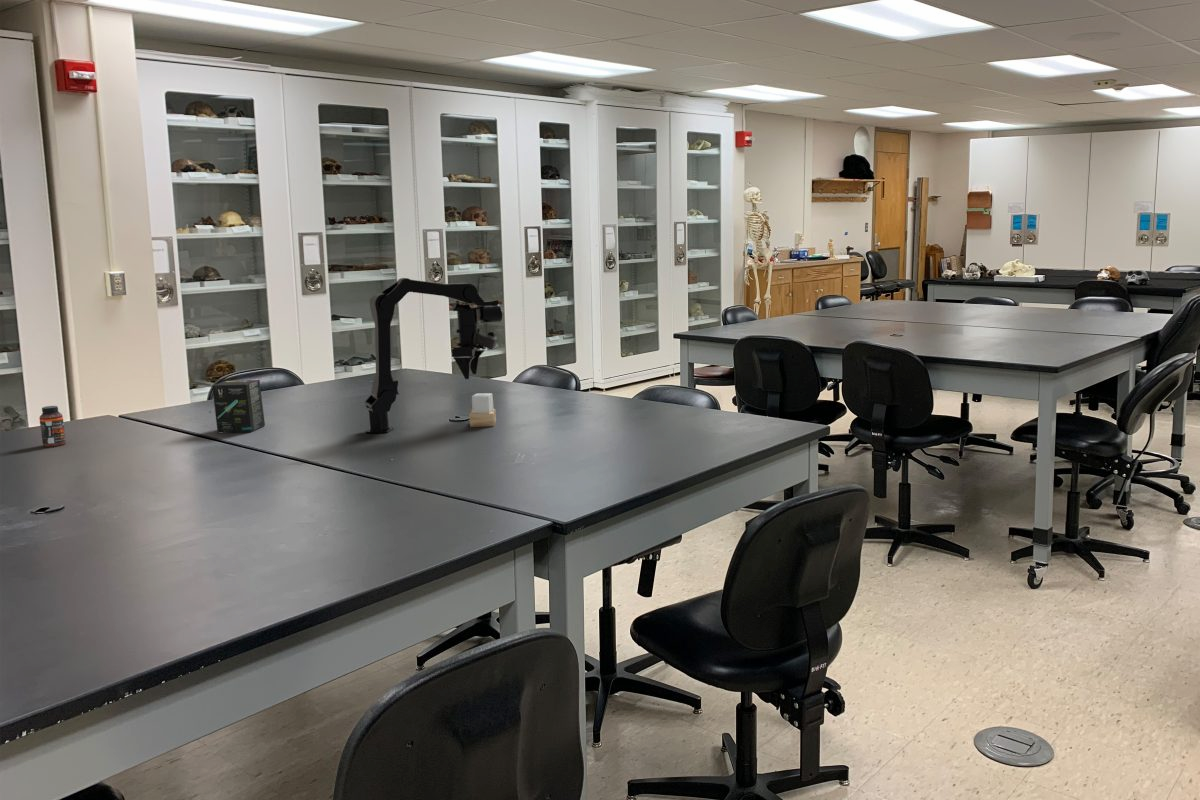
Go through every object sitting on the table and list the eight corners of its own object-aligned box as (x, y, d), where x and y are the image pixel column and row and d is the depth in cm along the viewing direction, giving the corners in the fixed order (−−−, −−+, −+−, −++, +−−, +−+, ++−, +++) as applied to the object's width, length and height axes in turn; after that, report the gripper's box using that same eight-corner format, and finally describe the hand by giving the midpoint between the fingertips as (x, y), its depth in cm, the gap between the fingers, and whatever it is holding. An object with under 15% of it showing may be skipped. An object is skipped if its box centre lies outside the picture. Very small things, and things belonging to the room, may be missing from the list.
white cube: (489, 413, 283) (488, 396, 282) (472, 413, 284) (471, 396, 283) (493, 409, 288) (492, 393, 287) (477, 409, 289) (476, 393, 288)
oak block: (494, 426, 283) (493, 413, 283) (470, 427, 283) (469, 414, 283) (496, 421, 290) (495, 408, 290) (472, 422, 290) (471, 409, 289)
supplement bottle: (56, 447, 277) (50, 408, 275) (38, 447, 278) (32, 408, 276) (71, 442, 283) (65, 404, 281) (53, 442, 284) (48, 404, 282)
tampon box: (265, 426, 296) (260, 378, 294) (252, 432, 287) (246, 384, 285) (231, 426, 298) (226, 379, 295) (216, 433, 289) (211, 384, 286)
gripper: (486, 327, 280) (490, 381, 283) (500, 321, 298) (503, 371, 301) (449, 328, 281) (452, 381, 284) (465, 322, 299) (468, 371, 302)
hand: (470, 376), depth 293 cm, fingers open, 9 cm apart
